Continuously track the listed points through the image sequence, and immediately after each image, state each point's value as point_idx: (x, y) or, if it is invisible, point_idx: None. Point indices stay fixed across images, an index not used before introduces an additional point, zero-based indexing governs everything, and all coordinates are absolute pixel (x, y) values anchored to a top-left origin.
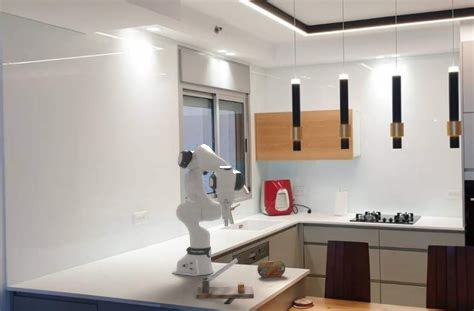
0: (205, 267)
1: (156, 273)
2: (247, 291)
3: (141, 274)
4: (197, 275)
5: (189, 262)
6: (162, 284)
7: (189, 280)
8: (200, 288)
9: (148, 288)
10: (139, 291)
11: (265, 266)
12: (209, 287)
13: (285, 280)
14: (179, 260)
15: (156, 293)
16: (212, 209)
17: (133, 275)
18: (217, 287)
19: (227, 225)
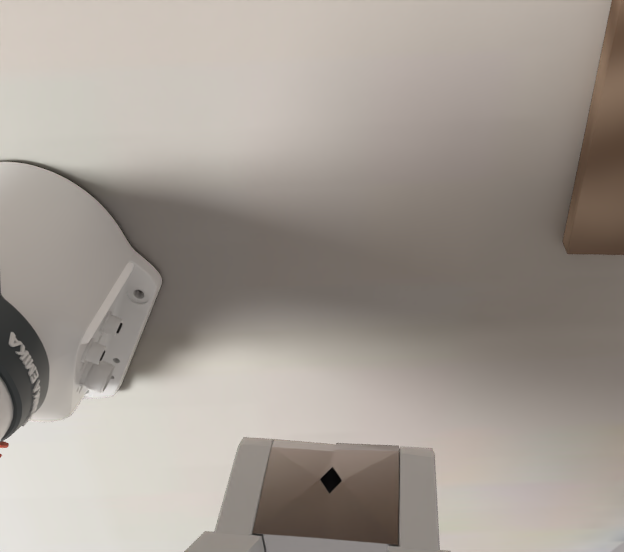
0: (73, 241)
1: (127, 453)
2: None
3: (162, 502)
4: (149, 264)
5: (82, 364)
6: (375, 422)
7: (276, 302)
8: (613, 237)
9: (457, 470)
10: (513, 498)
11: None
12: (601, 175)
13: None
14: (52, 420)
15: (577, 438)
16: None
17: (187, 525)
18: (621, 111)
19: (433, 472)
